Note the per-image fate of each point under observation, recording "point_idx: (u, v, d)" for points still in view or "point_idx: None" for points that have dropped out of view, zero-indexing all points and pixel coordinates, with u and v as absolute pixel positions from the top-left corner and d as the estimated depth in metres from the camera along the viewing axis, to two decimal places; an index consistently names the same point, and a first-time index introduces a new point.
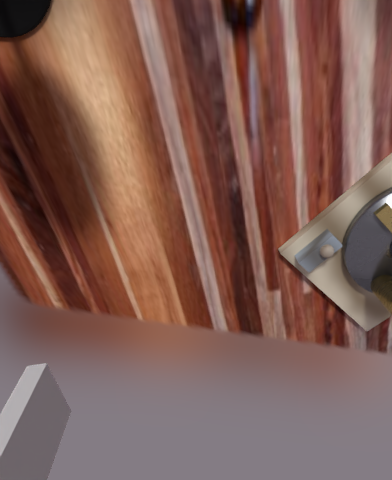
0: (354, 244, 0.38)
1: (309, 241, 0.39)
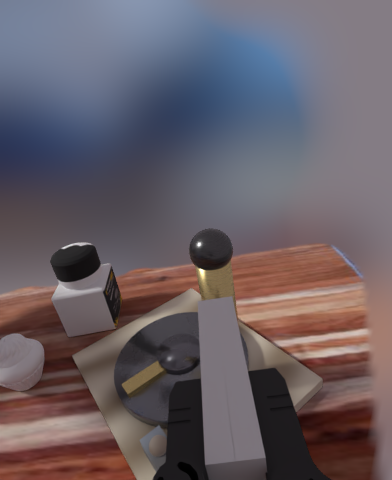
0: (163, 412, 0.30)
1: None
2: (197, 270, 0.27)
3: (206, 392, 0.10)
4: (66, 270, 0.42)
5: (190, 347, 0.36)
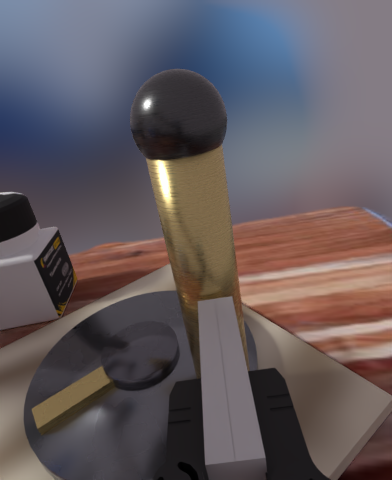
0: (97, 466, 0.16)
1: None
2: (150, 168, 0.12)
3: (206, 392, 0.10)
4: None
5: (159, 342, 0.21)
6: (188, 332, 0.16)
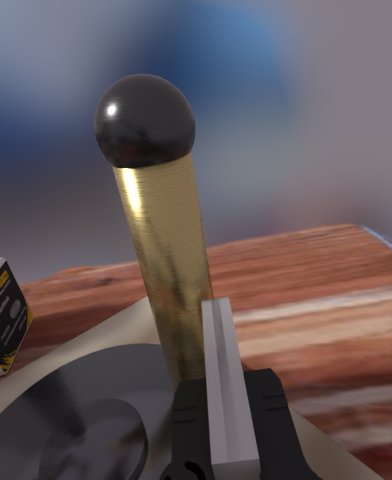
0: None
1: None
2: (144, 178, 0.11)
3: (211, 391, 0.10)
4: None
5: (109, 420, 0.17)
6: (187, 349, 0.15)
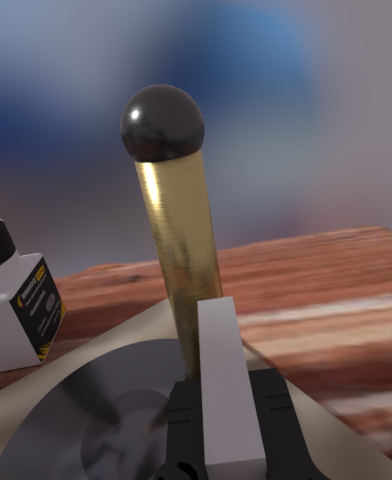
0: None
1: None
2: (173, 168, 0.13)
3: (206, 392, 0.10)
4: None
5: (137, 408, 0.17)
6: None
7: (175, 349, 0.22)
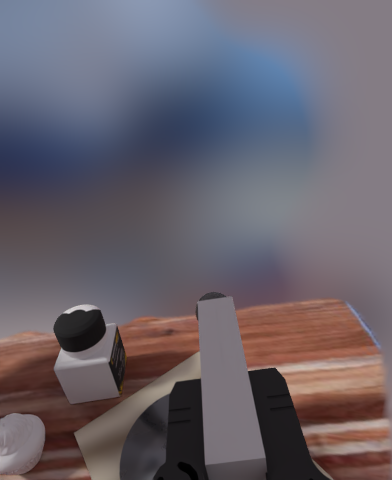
0: None
1: None
2: None
3: (206, 392, 0.10)
4: (70, 341, 0.39)
5: None
6: None
7: None
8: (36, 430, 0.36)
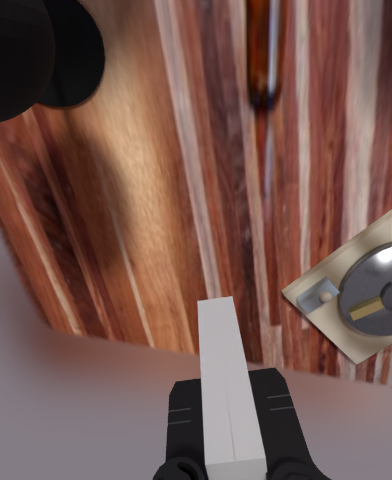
0: (372, 330, 0.46)
1: (310, 286, 0.44)
2: None
3: (206, 392, 0.10)
4: None
5: None
6: None
7: None
8: None
